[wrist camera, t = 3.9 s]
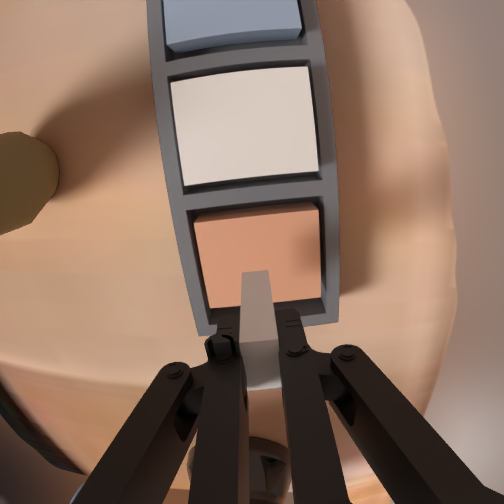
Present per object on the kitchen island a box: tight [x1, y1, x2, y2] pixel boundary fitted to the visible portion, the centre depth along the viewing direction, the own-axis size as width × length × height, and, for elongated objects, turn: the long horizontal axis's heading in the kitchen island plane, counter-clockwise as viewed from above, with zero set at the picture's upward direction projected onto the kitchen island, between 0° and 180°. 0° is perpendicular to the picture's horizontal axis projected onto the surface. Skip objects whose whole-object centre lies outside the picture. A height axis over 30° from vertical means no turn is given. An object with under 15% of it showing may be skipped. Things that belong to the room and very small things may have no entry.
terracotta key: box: [194, 202, 321, 308], centre depth 22 cm, size 6×8×2 cm
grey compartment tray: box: [146, 0, 340, 336], centre depth 19 cm, size 30×11×4 cm, turn 6°
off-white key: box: [171, 67, 318, 186], centre depth 18 cm, size 6×8×2 cm
